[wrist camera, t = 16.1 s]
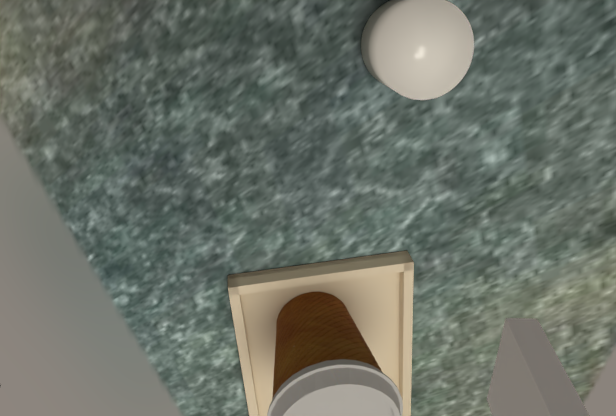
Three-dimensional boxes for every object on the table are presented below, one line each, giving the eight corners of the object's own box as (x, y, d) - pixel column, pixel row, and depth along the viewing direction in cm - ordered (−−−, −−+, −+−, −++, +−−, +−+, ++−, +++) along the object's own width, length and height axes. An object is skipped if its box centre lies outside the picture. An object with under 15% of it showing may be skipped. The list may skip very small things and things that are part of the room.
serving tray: (407, 250, 46) (413, 261, 45) (404, 433, 56) (409, 448, 55) (227, 275, 45) (227, 287, 43) (258, 458, 55) (259, 474, 53)
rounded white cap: (354, 7, 37) (370, 8, 32) (441, -11, 37) (470, -12, 32) (367, 95, 39) (384, 108, 34) (449, 78, 39) (477, 89, 35)
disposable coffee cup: (274, 377, 49) (288, 497, 39) (243, 293, 45) (249, 403, 34) (376, 347, 50) (418, 459, 39) (355, 261, 45) (395, 360, 35)
